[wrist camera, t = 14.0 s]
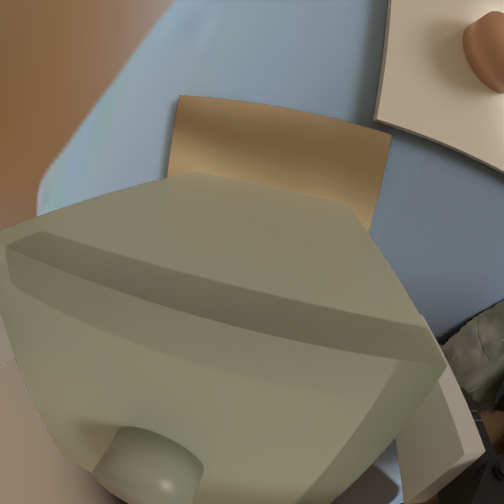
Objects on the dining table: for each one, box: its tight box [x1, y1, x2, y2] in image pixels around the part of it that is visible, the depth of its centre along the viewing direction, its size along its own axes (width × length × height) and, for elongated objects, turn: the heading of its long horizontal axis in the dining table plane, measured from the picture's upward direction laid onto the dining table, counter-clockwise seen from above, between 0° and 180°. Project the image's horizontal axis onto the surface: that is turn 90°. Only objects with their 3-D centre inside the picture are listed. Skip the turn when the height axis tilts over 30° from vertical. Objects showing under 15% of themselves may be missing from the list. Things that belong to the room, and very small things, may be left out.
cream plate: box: [373, 0, 504, 174], centre depth 9 cm, size 13×13×3 cm
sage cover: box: [0, 172, 447, 504], centre depth 10 cm, size 8×8×13 cm
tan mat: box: [167, 95, 392, 232], centre depth 16 cm, size 16×11×1 cm
